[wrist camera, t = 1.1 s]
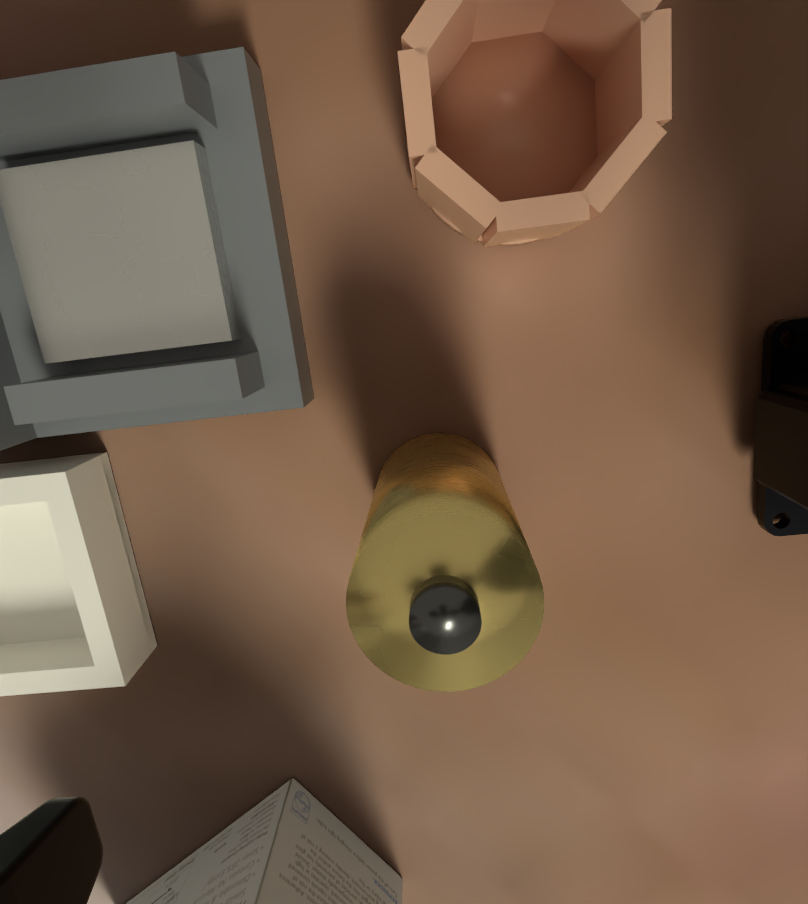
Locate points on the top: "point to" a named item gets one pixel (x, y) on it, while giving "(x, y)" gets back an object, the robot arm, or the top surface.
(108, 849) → the top surface
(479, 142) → the cup
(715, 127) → the top surface
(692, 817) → the top surface
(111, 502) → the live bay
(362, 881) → the light bulb box
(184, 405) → the grey holder
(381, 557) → the cell
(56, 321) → the plate
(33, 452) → the top surface
